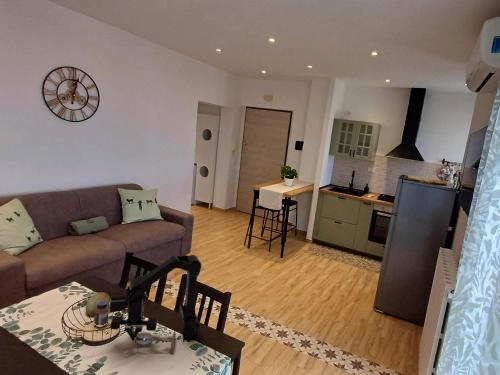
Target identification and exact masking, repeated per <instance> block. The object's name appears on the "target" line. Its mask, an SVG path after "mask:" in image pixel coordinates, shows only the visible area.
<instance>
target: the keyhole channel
mask: <svg viewBox="0 0 500 375" xmlns="http://www.w3.org/2000/svg"><path fill="white" fill-rule="evenodd" d="M140 333H141V332H139V333H138V334H140ZM138 334H137V335H138ZM152 335H153V340H152V341H161V342H171V343H170V347H148V348H139V347H135V348H131V349H127V350H125V351H123V352H124V353H123V355H124V357H129V356H132V355H137V354H170V355H173V354H174V351H175V350H174V349H175V343H176V335H177V333H176V332H173V333H172V335H162V334H152ZM136 337H137V336H136Z"/></svg>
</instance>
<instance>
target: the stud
mask: <svg viewBox="0 0 500 375" xmlns="http://www.w3.org/2000/svg"><path fill="white" fill-rule="evenodd" d="M139 333H140V334H138V335H137V337H136V338H135V343H136V344H137V348H150V347H151V343H152V342H153V341H154V340H153V335H154V334H152V333H151V332H149V331H147V332H144V331H143V332H139Z"/></svg>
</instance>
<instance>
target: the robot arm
mask: <svg viewBox="0 0 500 375" xmlns="http://www.w3.org/2000/svg"><path fill="white" fill-rule="evenodd" d="M175 269H180V270H183V271H186V276H187V277H186V285H185V297H184V304H183V305H180V306H179V308H180V310H179V312H178V313H179V316H180V319H181V321H182V322H183V327H182V340H184V341H185V340H186V341H198V337H199V336H198V334H199V329H200V327H201V323H200V321H199V318H198V316H197V314H196V308H195V300H196V293H197V292H196V290H197V282H198V281H197V280H198V276H199V275H200V273H201V269H202V263H201V261H200V260H199V258H198V257H197V255H195V254H190V255H186V254H184V255H183V254H182V255H172V256H171V257H169V259H167V260H165V262H164V261H163V263H162V264H160V265H158V266H157V267H156V268H154V269H152V270H151V271H150V272H148V273H146V274H143V275H139V276H137V277H136V278H133V279H132V280H131V281H130V282H129V285H128V286H127V288H126V289H124V291H123V292H124V294H116V295H115V294H113V295H110V302H109V313H119V312H124V311H126V310H127V311H126V312H127V319H124V316H123V315H114V316H113V318H112V320H111V321H110V324H109V328H110V330H119V329H120V328H121V326H124V330H123V331H124V332H126V333H127V334H128V336H129V337H130V340H131V341H132V342H135V341H136V336H137V334H138V333H142V331H143V328H144V327H145V330H146V331H147V332H149V331H150V332H154V331H156V330H157V326H158V318H157V317H148V318H147V320H145V319H144V312H145V306H144V301H147V300H148V299H149V296H148V294H147V293H146V292H147V291H149V289H150V288H151V286H152V285H153V284H154V283H156V282H157V281H159V280H160V279H162V278H164V276H166V275H168V274H169V273H171V272H172V271H173V270H175Z"/></svg>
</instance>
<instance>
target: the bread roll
mask: <svg viewBox="0 0 500 375" xmlns="http://www.w3.org/2000/svg"><path fill="white" fill-rule="evenodd" d="M110 300H111V296H110V295H109V294H108V293H107V292H101V291H100V292H96V293H94V294H93V295H92V296H90V298H89V299H88V300H87V302H86V304H85V313H86V314H87V315H88V316H89V317H95V307H96V306H97V303H98V302H99V301H106V302H107V305H108V306H109V305H110Z"/></svg>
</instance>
